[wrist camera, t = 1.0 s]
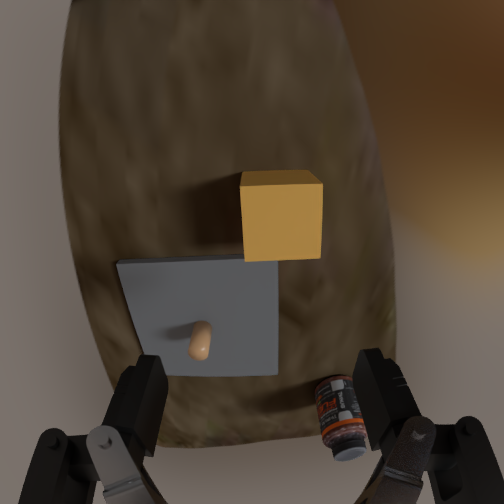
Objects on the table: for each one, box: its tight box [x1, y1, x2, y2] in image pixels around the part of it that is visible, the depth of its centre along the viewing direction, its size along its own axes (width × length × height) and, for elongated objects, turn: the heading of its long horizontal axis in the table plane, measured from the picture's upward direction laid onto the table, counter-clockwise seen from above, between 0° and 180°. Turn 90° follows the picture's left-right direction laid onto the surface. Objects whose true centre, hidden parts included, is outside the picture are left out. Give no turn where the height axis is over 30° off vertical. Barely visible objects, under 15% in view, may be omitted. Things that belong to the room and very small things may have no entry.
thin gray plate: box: [116, 254, 278, 376], centre depth 29 cm, size 16×16×5 cm
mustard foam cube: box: [240, 170, 323, 262], centre depth 23 cm, size 6×6×6 cm
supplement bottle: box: [315, 375, 368, 461], centre depth 32 cm, size 6×6×11 cm
